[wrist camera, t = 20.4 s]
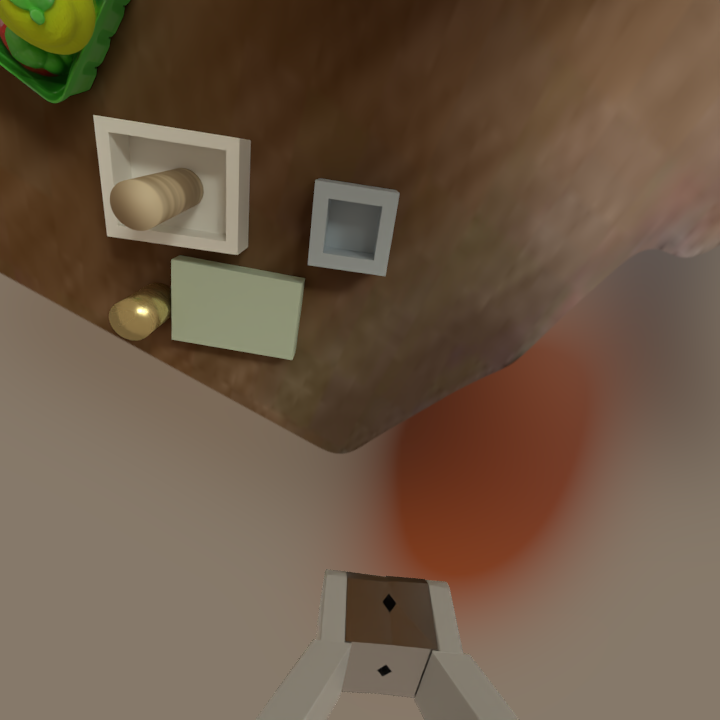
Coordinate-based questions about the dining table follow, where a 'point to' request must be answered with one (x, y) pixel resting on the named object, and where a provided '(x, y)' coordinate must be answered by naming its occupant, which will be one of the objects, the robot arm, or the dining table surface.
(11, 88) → the dining table surface
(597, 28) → the dining table surface
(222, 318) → the plate board
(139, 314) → the cylinder
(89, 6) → the fruit basket
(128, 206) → the dowel
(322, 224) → the socket block
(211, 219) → the tray
